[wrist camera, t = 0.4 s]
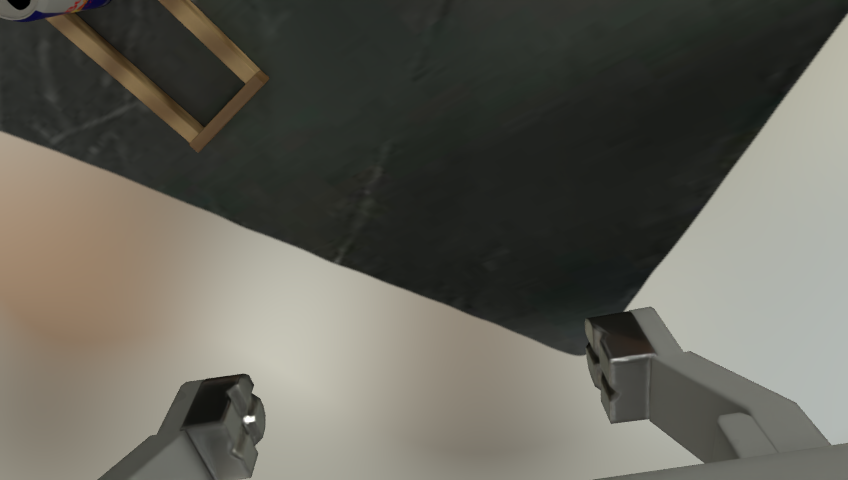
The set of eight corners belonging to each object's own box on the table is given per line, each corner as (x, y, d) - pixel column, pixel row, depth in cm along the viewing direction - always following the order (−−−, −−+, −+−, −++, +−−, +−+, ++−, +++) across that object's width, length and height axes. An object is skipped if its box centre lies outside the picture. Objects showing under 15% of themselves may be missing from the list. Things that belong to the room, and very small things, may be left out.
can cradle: (17, -19, 50) (0, -17, 48) (80, -107, 47) (64, -110, 45) (205, 145, 58) (197, 153, 56) (269, 78, 55) (264, 84, 52)
